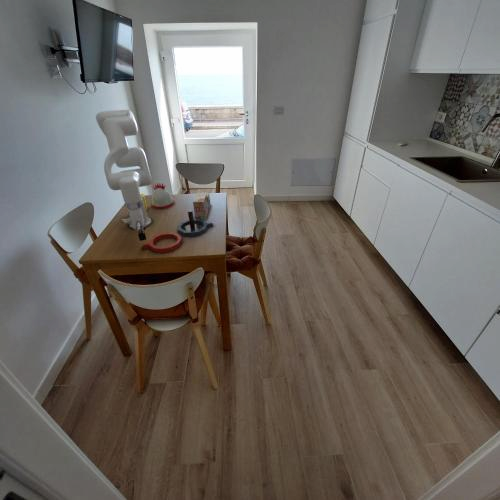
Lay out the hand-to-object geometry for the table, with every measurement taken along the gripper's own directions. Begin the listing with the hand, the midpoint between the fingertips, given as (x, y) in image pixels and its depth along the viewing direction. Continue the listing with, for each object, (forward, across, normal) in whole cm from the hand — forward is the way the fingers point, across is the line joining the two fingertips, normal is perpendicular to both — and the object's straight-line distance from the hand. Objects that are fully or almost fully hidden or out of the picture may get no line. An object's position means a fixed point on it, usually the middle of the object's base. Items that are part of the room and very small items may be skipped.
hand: (142, 234), depth 136 cm
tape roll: (+9, -48, -2) cm, 49 cm away
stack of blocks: (+8, -28, +36) cm, 46 cm away
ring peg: (+7, -9, +26) cm, 28 cm away
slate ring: (+7, -9, +28) cm, 30 cm away
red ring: (+7, +1, +8) cm, 11 cm away
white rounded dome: (+9, -51, +13) cm, 53 cm away
